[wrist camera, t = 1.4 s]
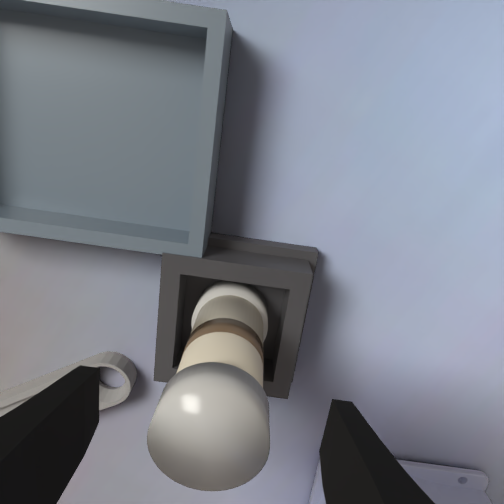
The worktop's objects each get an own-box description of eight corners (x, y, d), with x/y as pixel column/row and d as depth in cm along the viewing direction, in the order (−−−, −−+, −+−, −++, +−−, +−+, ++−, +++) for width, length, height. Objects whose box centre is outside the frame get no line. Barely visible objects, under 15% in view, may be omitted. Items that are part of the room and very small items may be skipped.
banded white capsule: (272, 283, 17) (279, 403, 10) (262, 347, 19) (259, 498, 11) (200, 273, 17) (150, 385, 10) (193, 337, 19) (144, 482, 11)
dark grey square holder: (316, 247, 18) (324, 266, 15) (290, 372, 20) (294, 407, 17) (168, 226, 18) (152, 242, 15) (159, 354, 20) (144, 386, 17)
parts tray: (232, 29, 15) (227, 10, 13) (209, 242, 18) (201, 260, 15) (-43, -12, 15) (-101, -39, 13) (-23, 210, 18) (-68, 222, 15)
